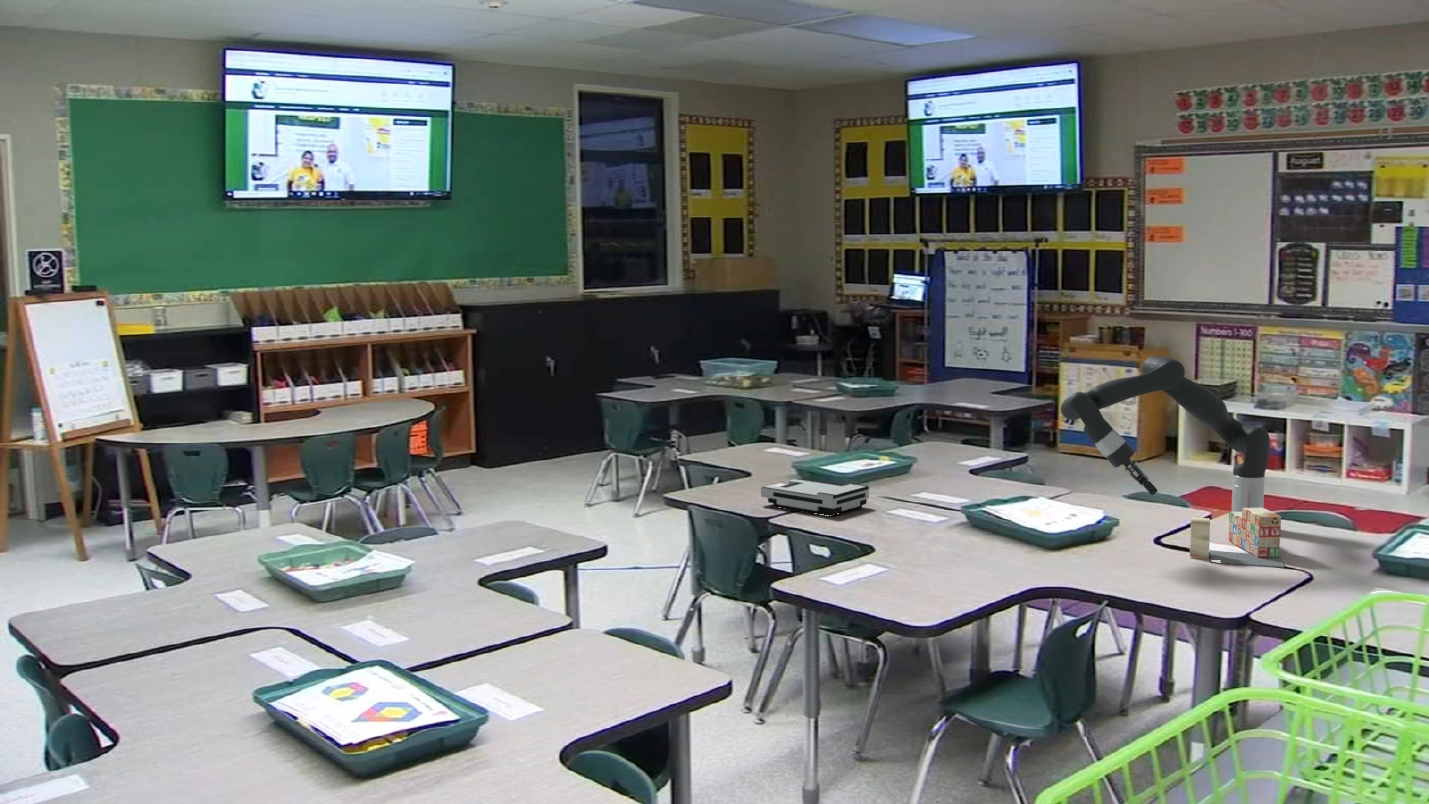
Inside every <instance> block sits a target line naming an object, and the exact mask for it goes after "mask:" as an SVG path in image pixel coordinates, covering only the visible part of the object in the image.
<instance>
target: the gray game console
mask: <svg viewBox="0 0 1429 804" xmlns="http://www.w3.org/2000/svg"><path fill="white" fill-rule="evenodd" d="M787 483H788V484H784V485H780V486H777V485H772V484H771V485H770V484H769V485H766V486H763V487H762V486H761V487H760V497H761V498H767V502H768V504H769V503H771V504H773V506H775V507H781V508H786V509H790V510H789V511H792V510H796V511H795V512H798V511H803V512H808V513H807V514H809V513H817V514H824V515H829V516H830V515H833V514H837V513H840V512H844V511H847V510H848V509H849V511H854V509H855V510H859V509H861V508H860V507H862V508H863V506H864V505H867V503H868V502H867V500H868V499H870V497H869V495H870V486H869V485H867V484H866V485H865V484H860V483H859V484H858V483H850V484H845V485H842V484H836V483H829V482H822V481H816V480H809V479H804V478H803V479H802V478H794V479H791V480H788V482H787ZM775 507H774V508H775ZM858 508H859V509H858ZM786 509H785V510H786ZM803 512H802V513H803ZM840 514H841V513H840Z"/></svg>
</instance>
